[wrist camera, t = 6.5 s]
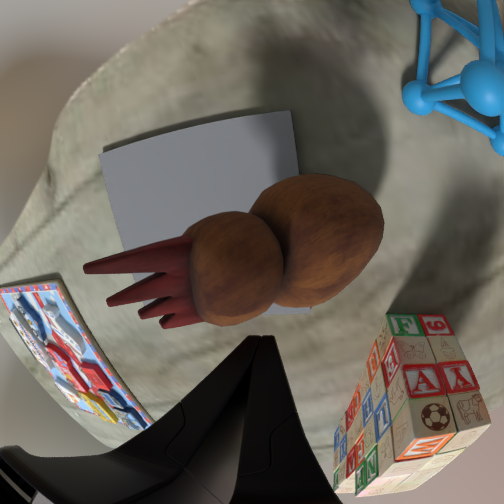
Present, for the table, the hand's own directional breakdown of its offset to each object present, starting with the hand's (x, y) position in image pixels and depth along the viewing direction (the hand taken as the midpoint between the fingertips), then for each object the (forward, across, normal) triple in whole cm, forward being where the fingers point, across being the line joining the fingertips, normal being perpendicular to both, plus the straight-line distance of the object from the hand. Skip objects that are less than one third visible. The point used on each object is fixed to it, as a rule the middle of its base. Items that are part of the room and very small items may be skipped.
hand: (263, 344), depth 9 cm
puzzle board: (+13, +36, +20) cm, 43 cm away
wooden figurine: (+10, -5, 0) cm, 11 cm away
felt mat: (+12, +6, 0) cm, 14 cm away
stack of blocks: (+12, -9, +19) cm, 25 cm away
